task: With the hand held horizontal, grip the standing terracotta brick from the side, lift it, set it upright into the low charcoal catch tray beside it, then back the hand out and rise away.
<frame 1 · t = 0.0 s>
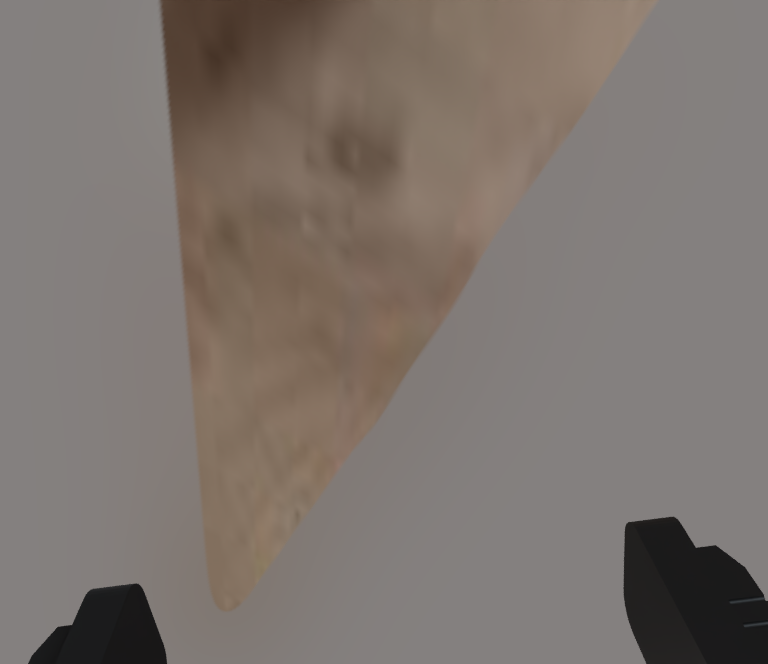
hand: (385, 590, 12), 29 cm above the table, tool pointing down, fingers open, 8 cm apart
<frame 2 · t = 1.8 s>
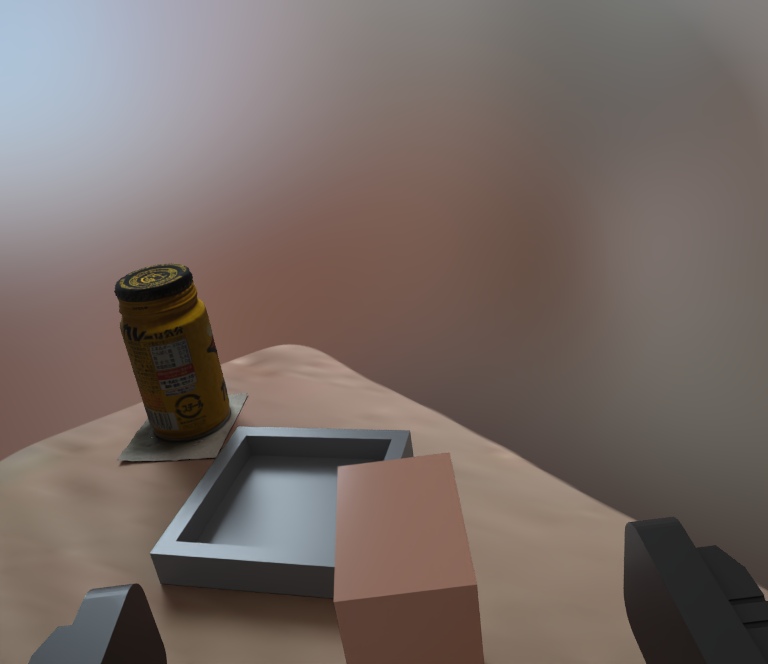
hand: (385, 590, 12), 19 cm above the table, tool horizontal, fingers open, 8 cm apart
tray: (297, 515, 43), on the table
condiment: (187, 429, 54), on the table
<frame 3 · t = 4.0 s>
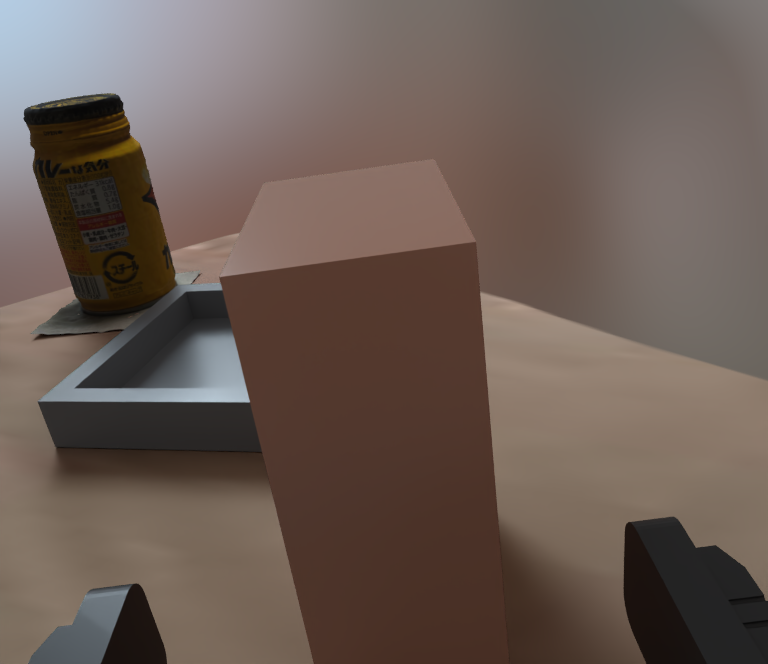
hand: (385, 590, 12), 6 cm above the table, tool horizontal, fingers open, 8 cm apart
brick: (406, 583, 20), on the table
tray: (245, 373, 33), on the table
condiment: (123, 306, 44), on the table
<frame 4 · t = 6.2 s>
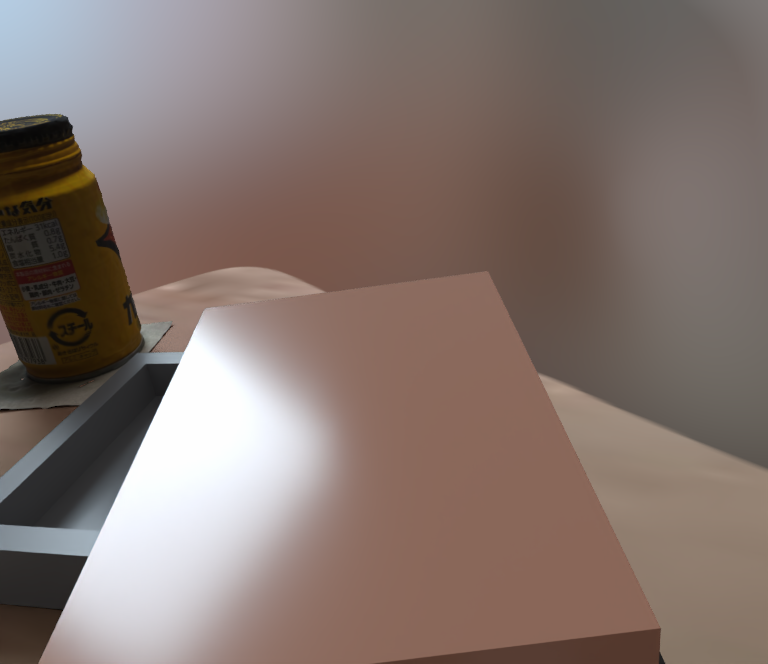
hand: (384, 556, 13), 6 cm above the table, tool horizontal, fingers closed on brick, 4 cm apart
tray: (214, 483, 26), on the table
condiment: (78, 369, 37), on the table
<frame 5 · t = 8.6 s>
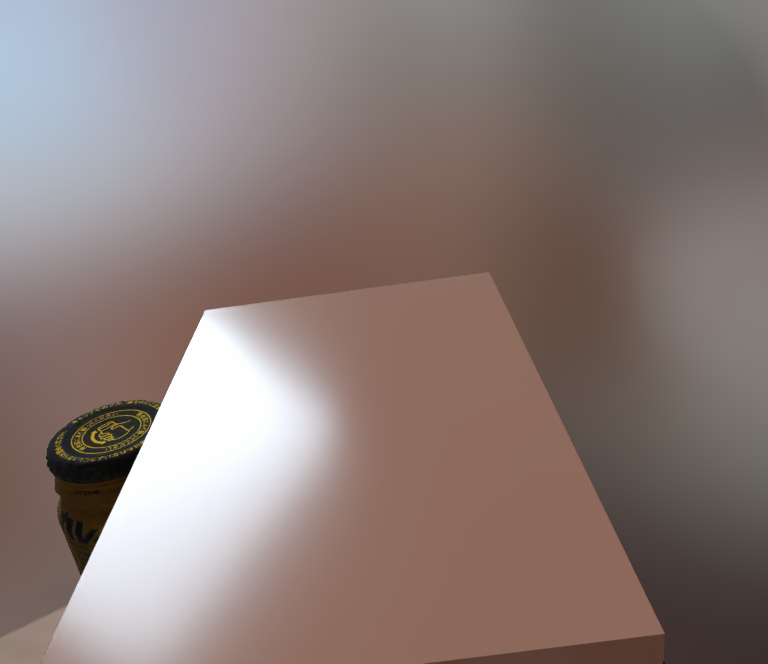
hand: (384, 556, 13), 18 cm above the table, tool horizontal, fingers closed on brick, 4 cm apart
condiment: (172, 652, 34), on the table
when the fingers open (8 cm above the table, at t = 11.3 s): brick drops 1 cm, resting on tray.
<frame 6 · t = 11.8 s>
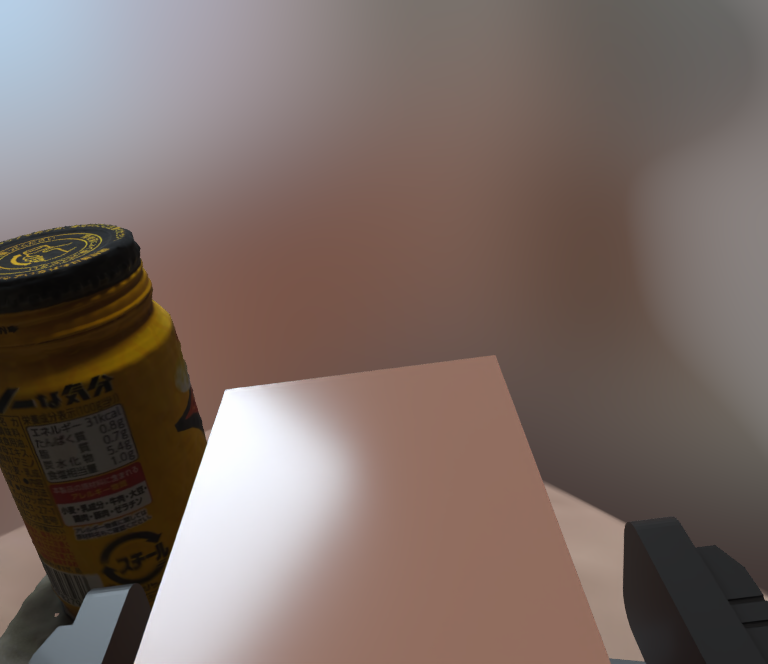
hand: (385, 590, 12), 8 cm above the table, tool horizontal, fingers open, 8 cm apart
condiment: (139, 592, 25), on the table
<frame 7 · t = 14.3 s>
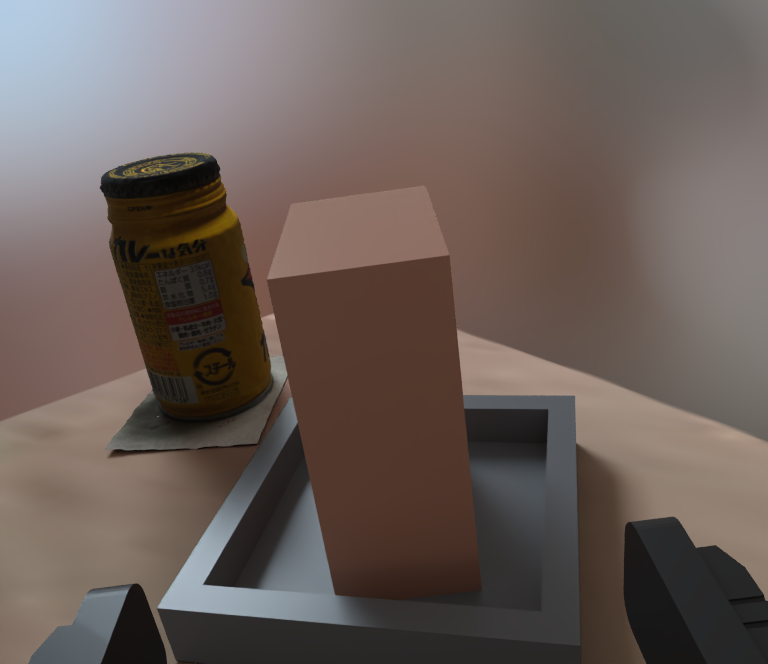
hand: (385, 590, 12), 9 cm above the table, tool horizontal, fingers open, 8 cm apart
brick: (403, 523, 25), point 1 cm above the table, touching tray
tray: (404, 535, 26), on the table
condiment: (210, 405, 37), on the table
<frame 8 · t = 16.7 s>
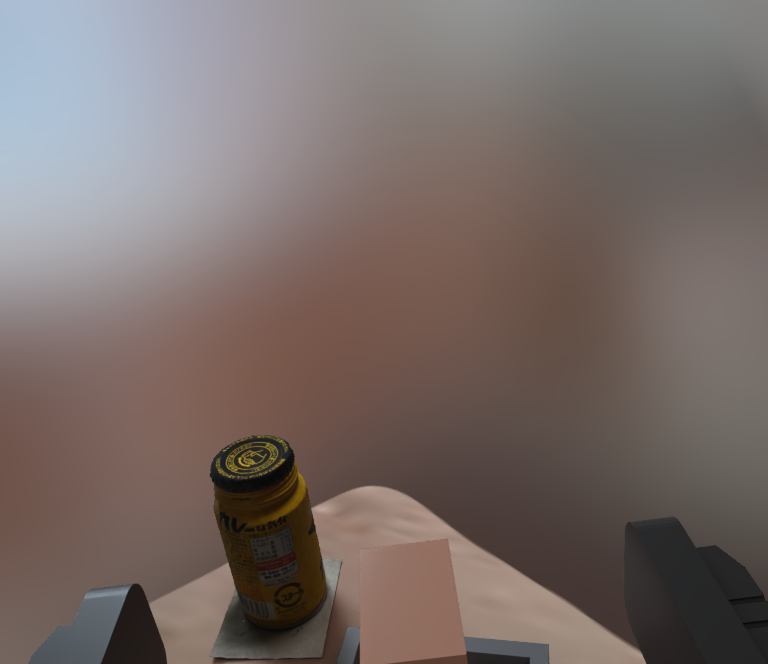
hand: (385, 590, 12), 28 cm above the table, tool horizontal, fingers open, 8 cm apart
condiment: (281, 609, 49), on the table
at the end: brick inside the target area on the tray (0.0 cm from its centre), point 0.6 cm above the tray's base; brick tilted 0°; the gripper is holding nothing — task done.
